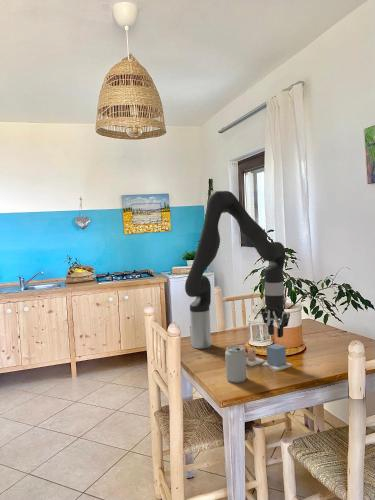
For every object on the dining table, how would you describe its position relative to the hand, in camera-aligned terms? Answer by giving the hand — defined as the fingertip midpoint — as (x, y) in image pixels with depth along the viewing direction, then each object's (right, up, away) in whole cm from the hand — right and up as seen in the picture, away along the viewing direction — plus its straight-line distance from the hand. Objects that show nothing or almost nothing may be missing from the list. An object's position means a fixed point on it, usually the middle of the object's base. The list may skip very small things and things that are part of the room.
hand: (275, 335), depth 155 cm
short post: (-8, -12, +7) cm, 16 cm away
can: (-17, -14, -10) cm, 24 cm away
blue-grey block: (+1, -11, +1) cm, 11 cm away
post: (+1, -12, +1) cm, 12 cm away
